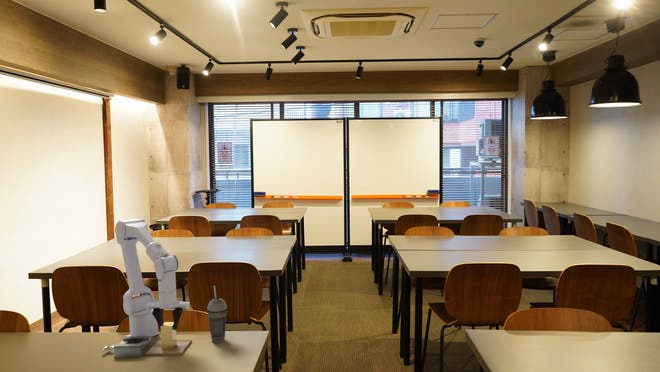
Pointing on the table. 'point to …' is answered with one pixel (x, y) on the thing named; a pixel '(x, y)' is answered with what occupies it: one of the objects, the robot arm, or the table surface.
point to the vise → (131, 346)
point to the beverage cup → (217, 318)
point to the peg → (168, 336)
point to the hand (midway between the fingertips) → (168, 329)
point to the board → (177, 350)
